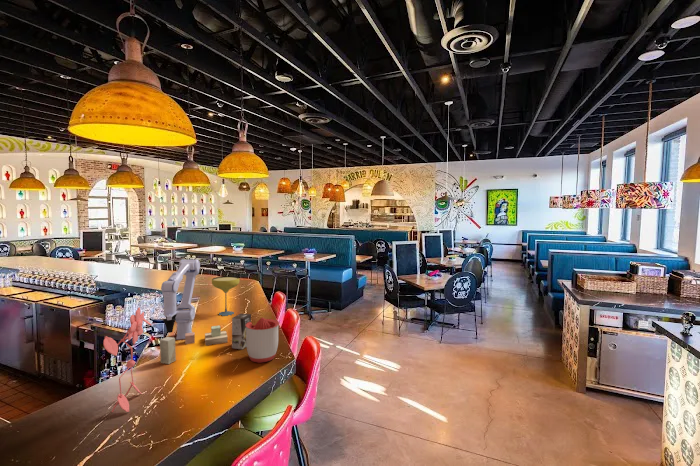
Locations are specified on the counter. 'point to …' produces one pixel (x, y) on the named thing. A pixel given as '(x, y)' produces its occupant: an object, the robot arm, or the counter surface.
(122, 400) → the pink thin branching piece
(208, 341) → the maple board
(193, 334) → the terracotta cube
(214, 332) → the sage cube
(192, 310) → the robot arm
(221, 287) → the cocktail glass
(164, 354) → the box
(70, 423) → the counter surface
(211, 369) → the counter surface
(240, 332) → the coffee box
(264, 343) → the citrus juicer
